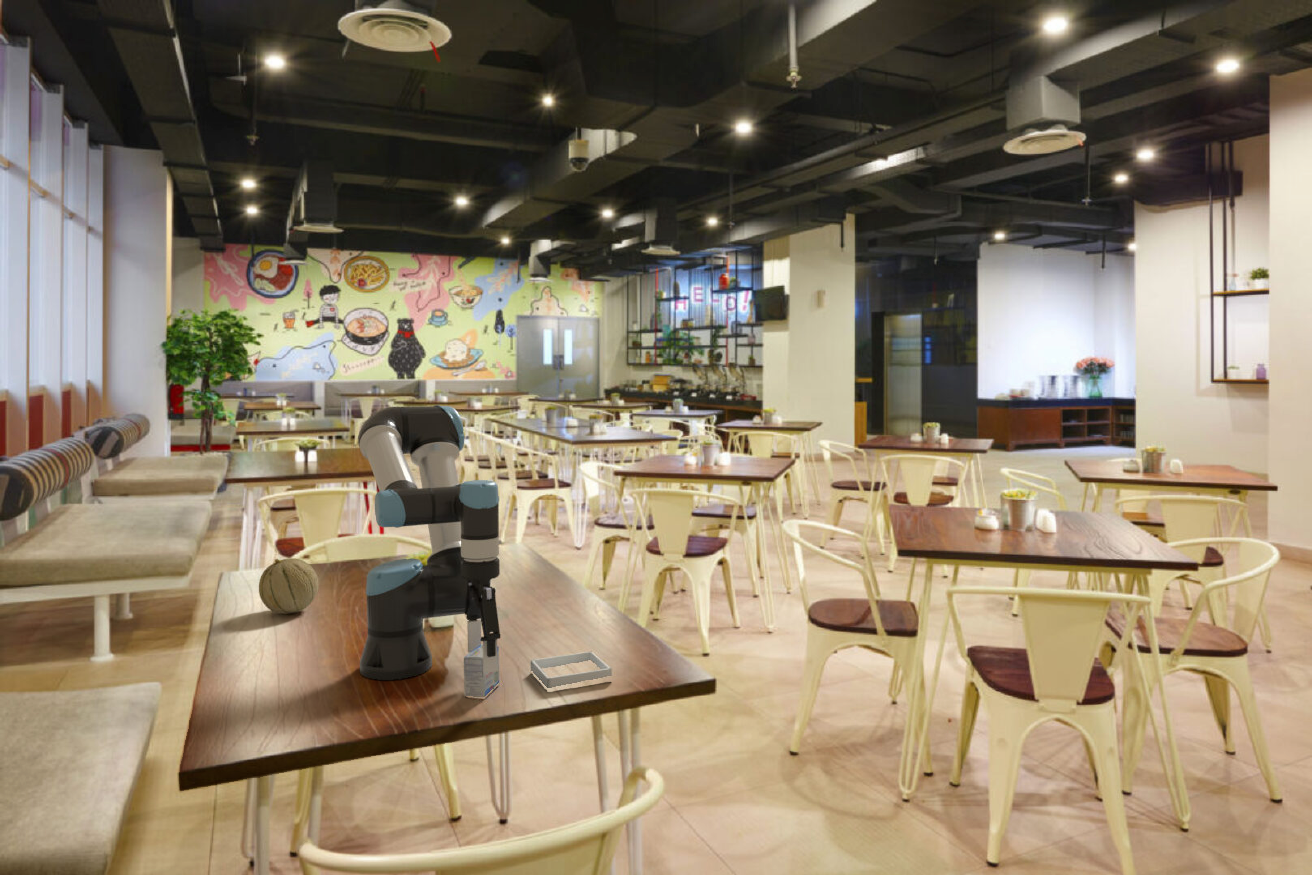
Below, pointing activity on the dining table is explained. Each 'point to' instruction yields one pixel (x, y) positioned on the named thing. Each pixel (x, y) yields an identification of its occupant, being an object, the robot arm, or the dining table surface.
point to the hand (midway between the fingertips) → (482, 661)
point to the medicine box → (478, 674)
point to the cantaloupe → (288, 586)
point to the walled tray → (570, 678)
